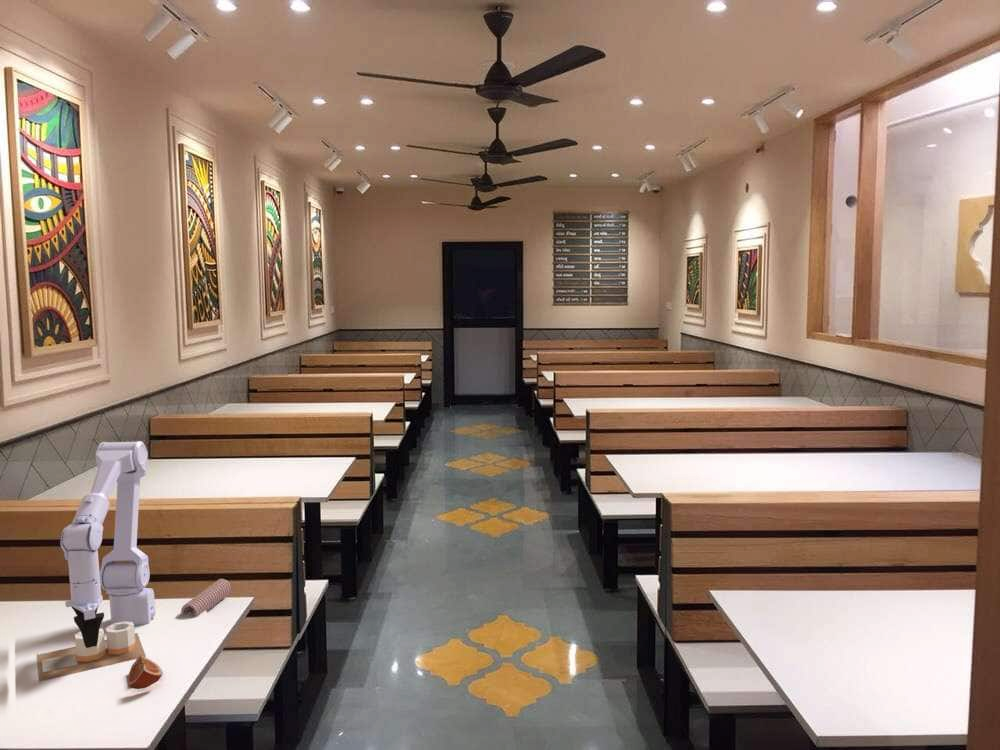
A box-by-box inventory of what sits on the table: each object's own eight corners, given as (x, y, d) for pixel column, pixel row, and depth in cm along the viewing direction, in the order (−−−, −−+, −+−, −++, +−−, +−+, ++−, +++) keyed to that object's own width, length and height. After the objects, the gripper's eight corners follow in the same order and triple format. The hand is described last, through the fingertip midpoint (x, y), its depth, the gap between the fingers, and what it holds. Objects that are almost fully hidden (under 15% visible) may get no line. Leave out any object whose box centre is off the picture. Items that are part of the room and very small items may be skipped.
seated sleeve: (106, 647, 179) (105, 625, 178) (133, 641, 182) (132, 619, 181) (109, 656, 174) (107, 634, 174) (136, 650, 177) (135, 628, 177)
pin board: (137, 639, 186) (136, 616, 186) (146, 663, 174) (144, 639, 174) (37, 661, 176) (35, 637, 176) (39, 688, 164) (37, 663, 164)
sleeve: (76, 654, 176) (74, 631, 175) (104, 647, 179) (102, 626, 178) (77, 663, 171) (75, 641, 171) (106, 657, 174) (104, 634, 174)
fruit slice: (126, 680, 167) (124, 657, 166) (161, 672, 170) (159, 649, 169) (128, 698, 160) (126, 674, 159) (165, 690, 163) (163, 666, 162)
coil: (197, 606, 194) (232, 579, 212) (179, 603, 195) (216, 576, 212) (196, 625, 195) (232, 596, 212) (178, 622, 195) (215, 593, 213)
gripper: (61, 572, 177) (66, 632, 179) (65, 593, 165) (71, 657, 166) (97, 566, 181) (102, 624, 182) (104, 586, 168) (109, 649, 170)
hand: (89, 640), depth 175 cm, fingers open, 7 cm apart
